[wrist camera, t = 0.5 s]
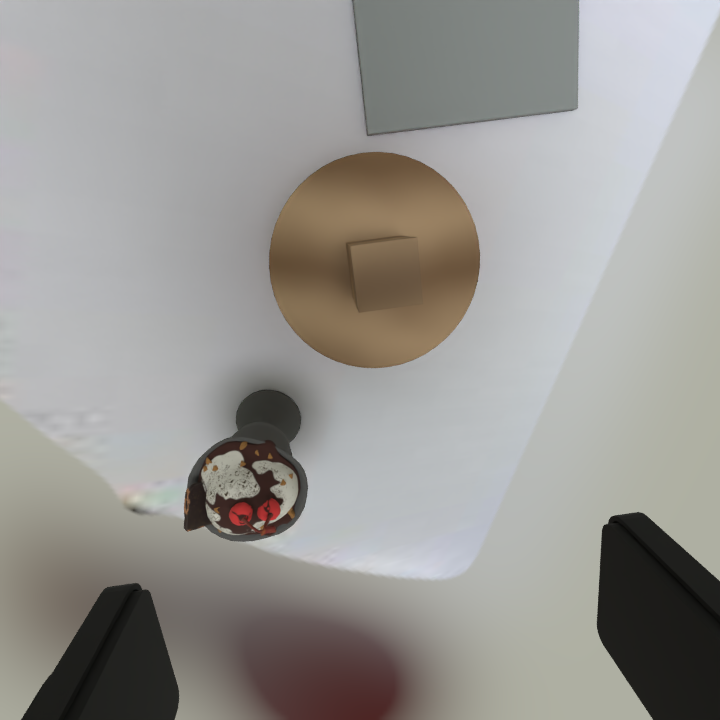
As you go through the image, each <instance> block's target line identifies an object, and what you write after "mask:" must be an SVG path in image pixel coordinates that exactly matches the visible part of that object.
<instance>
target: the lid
mask: <svg viewBox="0 0 720 720" xmlns="http://www.w3.org/2000/svg"><path fill="white" fill-rule="evenodd" d="M479 268H480V250H479V241H478V236H477V232H476V228H475V224H474V222H473V219H472V217H471V214H470V212H469V210H468V208H467V206H466V204H465V203H464V201H463V199H462V198H461V196H460V195H459V194H458V192H457V191H456V190H455V188H454V187H453V186H452V185H451V184H450V183H449V182H448V181H447V180H446V179H445V178H444V177H442V176H441V175H440V174H439V173H437V172H436V171H435V170H433V169H432V168H430V167H428V166H427V165H425V164H423V163H421V162H419V161H417V160H414V159H411V158H409V157H406V156H402V155H398V154H393V153H384V152H368V153H360V154H355V155H350V156H346V157H344V158H341V159H338V160H335V161H333V162H331V163H329V164H327V165H325V166H323V167H321V168H320V169H319V170H317V171H316V172H314V173H313V174H312V175H310V176H309V177H308V178H307V179H306V180H305V181H304V182H303V183H302V184H300V185H299V186H298V188H297V189H296V190H295V191H294V193H293V194H292V195H291V196H290V198H289V199H288V201H287V202H286V204H285V206H284V207H283V209H282V211H281V213H280V215H279V218H278V220H277V222H276V225H275V228H274V232H273V235H272V239H271V246H270V252H269V269H270V278H271V284H272V288H273V292H274V296H275V298H276V301H277V303H278V306H279V308H280V310H281V312H282V314H283V316H284V317H285V319H286V321H287V322H288V323H289V325H290V326H291V328H292V329H293V330H294V332H295V333H296V334H297V335H298V336H299V337H300V338H301V339H302V340H303V341H304V342H305V343H307V344H308V345H309V346H310V347H312V348H313V349H314V350H316V351H317V352H319V353H321V354H322V355H324V356H326V357H328V358H330V359H332V360H335V361H337V362H340V363H343V364H347V365H351V366H356V367H363V368H382V367H390V366H395V365H400V364H403V363H406V362H409V361H412V360H414V359H416V358H418V357H420V356H422V355H424V354H426V353H427V352H429V351H430V350H432V349H434V348H435V347H436V346H438V345H439V344H440V343H441V342H442V341H444V340H445V339H446V338H447V337H448V336H449V335H450V333H451V332H452V331H453V330H454V329H455V328H456V326H457V325H458V324H459V322H460V321H461V320H462V318H463V316H464V315H465V313H466V311H467V309H468V307H469V305H470V303H471V300H472V298H473V296H474V293H475V289H476V285H477V282H478V275H479Z"/></svg>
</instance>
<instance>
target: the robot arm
mask: <svg viewBox="0 0 720 720" xmlns="http://www.w3.org/2000/svg"><path fill="white" fill-rule="evenodd" d="M601 542H602V543H601V559H600V579H599V596H598V614H597V616H598V617H597V629H598V633H599V637H600V639H601V641H602V643H603V645H604V647H605V648H606V650H607V651H608V653H609V654H610V656H611V657H612V659H613V660H614V662H615V663H616V665H617V666H618V668H619V669H620V671H621V672H622V674H623V675H624V677H625V678H626V680H627V681H628V683H629V684H630V685H631V687H632V689H633V690H634V692H635V693H636V695H637V696H638V698H639V699H640V701H641V702H642V704H643V705H644V707H645V708H646V710H647V711H648V713H649V714H650V715H651V717H652V718H653V720H720V581H719V580H718V579H717V578H716V577H714V576H713V575H712V574H711V573H710V572H709V571H708V570H707V569H705V568H704V567H703V566H702V565H701V564H700V563H699V562H698V561H697V560H695V559H694V558H693V557H692V556H691V555H690V554H689V553H688V552H686V551H685V550H684V549H683V548H682V547H681V546H680V545H679V544H677V543H676V542H675V541H674V540H673V539H672V538H671V537H670V536H669V535H667V534H666V533H665V532H664V531H663V530H662V529H661V528H660V527H659V526H657V525H656V524H655V523H654V522H653V521H652V520H651V519H650V518H648V517H647V516H646V515H645V514H643V513H639V512H637V513H629V514H622V515H615V516H612V517H611V518H610V519H609V522H608V524H606V525H604V526H603V529H602V541H601ZM178 703H179V690H178V685H177V682H176V678H175V675H174V672H173V668H172V665H171V662H170V658H169V655H168V651H167V648H166V645H165V641H164V638H163V634H162V631H161V627H160V624H159V621H158V617H157V614H156V611H155V607H154V604H153V600H152V597H151V594H150V592H149V591H148V590H142V588H141V586H140V585H139V584H137V583H133V584H126V585H119V586H112V587H107V588H105V589H104V590H103V592H102V593H101V594H100V596H99V598H98V599H97V601H96V602H95V604H94V606H93V607H92V609H91V611H90V612H89V614H88V616H87V617H86V619H85V621H84V622H83V624H82V626H81V627H80V629H79V630H78V632H77V634H76V635H75V637H74V639H73V640H72V642H71V643H70V645H69V647H68V648H67V650H66V652H65V653H64V655H63V656H62V658H61V660H60V661H59V663H58V665H57V666H56V668H55V670H54V672H53V673H52V674H51V675H50V676H49V677H48V679H47V680H46V681H45V683H44V684H43V685H42V687H41V689H40V690H39V692H38V693H37V695H36V696H35V698H34V700H33V701H32V703H31V705H30V706H29V708H28V710H27V711H26V713H25V714H24V716H23V718H22V719H21V720H174V719H175V716H176V713H177V709H178Z"/></svg>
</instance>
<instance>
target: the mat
mask: <svg viewBox="0 0 720 720" xmlns="http://www.w3.org/2000/svg"><path fill="white" fill-rule="evenodd" d="M353 7H354V16H355V25H356V34H357V44H358V53H359V62H360V71H361V80H362V89H363V99H364V108H365V117H366V126H367V135H368V136H370V135H378V134H386V133H394V132H402V131H410V130H418V129H427V128H435V127H443V126H451V125H459V124H467V123H475V122H483V121H491V120H499V119H508V118H516V117H524V116H532V115H540V114H548V113H556V112H564V111H572V110H575V109H577V108H578V39H579V0H353Z"/></svg>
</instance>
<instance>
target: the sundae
mask: <svg viewBox="0 0 720 720" xmlns="http://www.w3.org/2000/svg"><path fill="white" fill-rule="evenodd" d="M236 424H237V427H238V430H239V431H237V432H236V433H235V434H234V435H233V436H232V437H230V438H226V439H224V440H222V441H220V442H218V443H216V444H215V445H214V446H212V447H211V448H210V449H209V450H207V451H206V452H205V453H204V454H203V455H202V456H201V457H200V458H199V459H198V461H197V462H196V464H195V465H194V467H193V469H192V471H191V473H190V475H189V477H188V485H187V490H186V494H185V503H184V516H185V520H184V529H185V530H186V531H191V530H195V529H198V528H201V527H204V526H205V527H207V528H208V529H209V530H210V531H211V532H212V533H214V534H216V535H218V536H220V537H221V538H225V539H228V540H231V541H242V542H244V541H255V540H259V539H264V538H267V537H271V536H274V535H277V534H280V533H282V532H284V531H285V530H287V529H288V528H290V527H291V526H292V525H294V523H295V522H296V521H297V519H298V518H299V517H300V515H301V513H302V511H303V509H304V507H305V503H306V498H307V491H308V485H307V477H306V474H305V471H304V469H303V468H302V466H301V465H300V463H299V462H298V461H296V460H295V459H294V458H293V457H292V452H291V449H290V445H289V442H291V441H292V440H293V439H294V438H295V436H296V435H297V433H298V431H299V429H300V424H301V416H300V412H299V409H298V407H297V405H296V404H295V403H294V402H293V401H292V399H291V398H290V397H288V396H286V395H285V394H283V393H280V392H278V391H272V390H263V391H258V392H255V393H253V394H251V395H249V396H248V397H247V398H246V399H244V400H243V401H242V403H241V404H240V406H239V408H238V410H237V415H236Z"/></svg>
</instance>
